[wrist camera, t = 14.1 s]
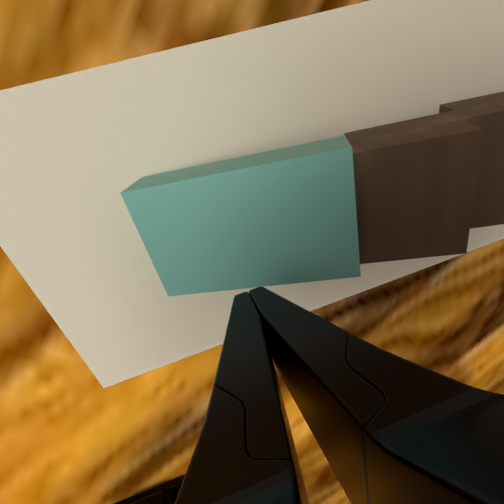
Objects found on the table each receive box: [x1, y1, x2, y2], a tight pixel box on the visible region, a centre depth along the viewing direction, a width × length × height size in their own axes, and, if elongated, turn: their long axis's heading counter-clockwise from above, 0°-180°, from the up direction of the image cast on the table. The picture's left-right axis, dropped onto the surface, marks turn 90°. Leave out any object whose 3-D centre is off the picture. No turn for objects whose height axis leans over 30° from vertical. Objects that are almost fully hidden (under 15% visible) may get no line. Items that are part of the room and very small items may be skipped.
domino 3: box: [349, 120, 484, 264], centre depth 13 cm, size 2×5×8 cm
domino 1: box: [120, 135, 361, 296], centre depth 12 cm, size 2×5×8 cm
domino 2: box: [344, 100, 504, 229], centre depth 13 cm, size 2×5×8 cm
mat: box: [0, 0, 504, 388], centre depth 15 cm, size 14×28×1 cm, turn 104°
